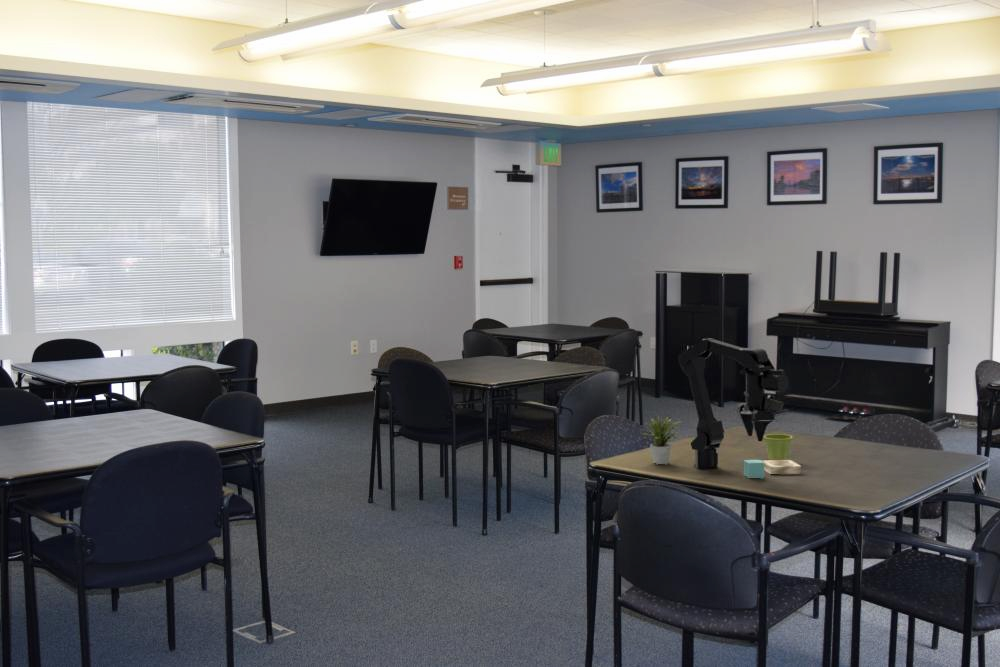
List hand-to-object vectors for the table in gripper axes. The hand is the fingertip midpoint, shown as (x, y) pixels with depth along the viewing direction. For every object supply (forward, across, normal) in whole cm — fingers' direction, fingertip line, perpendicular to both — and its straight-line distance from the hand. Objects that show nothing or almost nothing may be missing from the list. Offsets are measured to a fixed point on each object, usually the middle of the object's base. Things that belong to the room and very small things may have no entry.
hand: (755, 438), depth 316 cm
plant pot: (+12, +20, -15) cm, 28 cm away
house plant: (+12, +23, +24) cm, 36 cm away
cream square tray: (+12, +6, -11) cm, 17 cm away
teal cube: (+12, 0, 0) cm, 12 cm away
